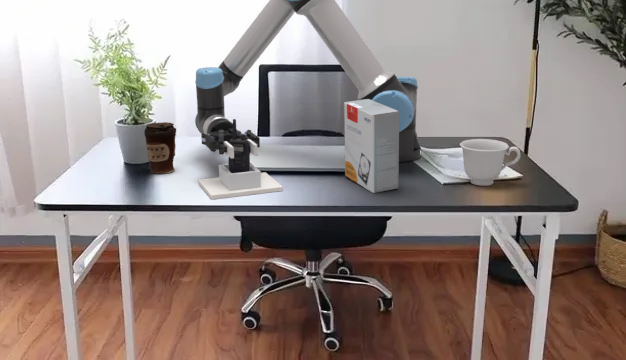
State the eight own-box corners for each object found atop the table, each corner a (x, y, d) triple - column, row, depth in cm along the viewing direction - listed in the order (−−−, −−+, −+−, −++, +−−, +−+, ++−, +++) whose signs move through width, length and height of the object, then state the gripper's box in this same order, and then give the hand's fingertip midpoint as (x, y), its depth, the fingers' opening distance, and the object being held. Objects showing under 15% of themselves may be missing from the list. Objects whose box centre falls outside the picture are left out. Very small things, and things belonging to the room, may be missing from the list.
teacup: (517, 192, 179) (520, 152, 176) (455, 187, 183) (457, 148, 181) (518, 178, 190) (521, 141, 187) (460, 174, 194) (462, 137, 192)
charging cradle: (265, 175, 194) (265, 157, 193) (282, 190, 182) (282, 171, 180) (198, 183, 188) (197, 164, 186) (211, 199, 175) (210, 179, 174)
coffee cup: (171, 176, 194) (167, 128, 190) (141, 175, 196) (137, 127, 192) (183, 167, 202) (180, 121, 199) (154, 166, 204) (151, 120, 200)
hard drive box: (343, 176, 192) (342, 101, 186) (369, 172, 195) (369, 98, 189) (372, 193, 179) (372, 113, 173) (400, 188, 182) (400, 109, 176)
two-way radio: (226, 179, 182) (226, 119, 178) (230, 174, 187) (230, 116, 182) (248, 180, 182) (248, 120, 178) (252, 175, 186) (252, 117, 182)
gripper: (253, 142, 202) (280, 162, 181) (187, 148, 196) (207, 170, 175) (252, 115, 200) (279, 133, 179) (185, 120, 194) (206, 139, 173)
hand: (244, 151), depth 177 cm, fingers closed on two-way radio, 5 cm apart
